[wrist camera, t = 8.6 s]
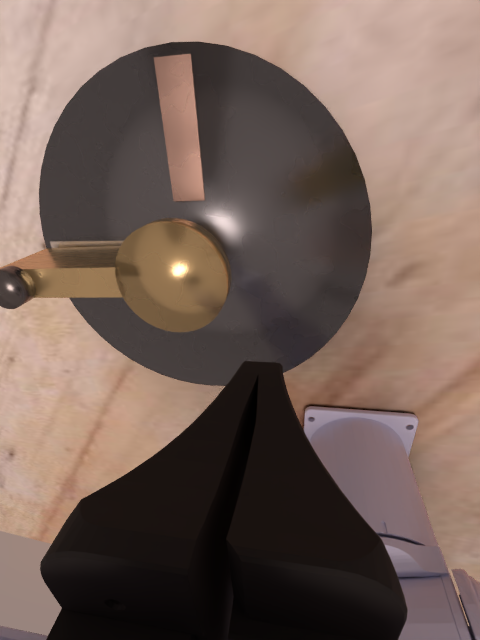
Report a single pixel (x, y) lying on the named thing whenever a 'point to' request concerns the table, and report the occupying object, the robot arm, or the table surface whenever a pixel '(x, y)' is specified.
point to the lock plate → (214, 201)
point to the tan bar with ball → (133, 275)
